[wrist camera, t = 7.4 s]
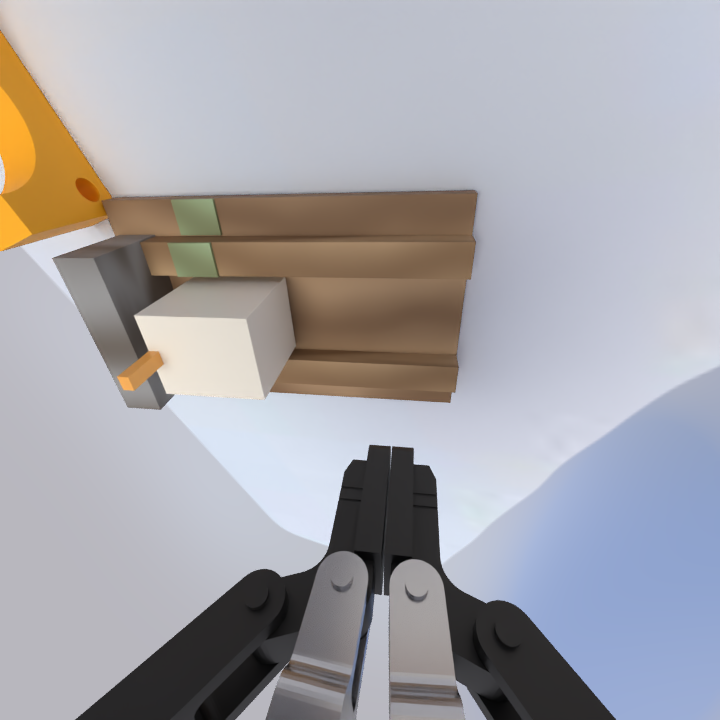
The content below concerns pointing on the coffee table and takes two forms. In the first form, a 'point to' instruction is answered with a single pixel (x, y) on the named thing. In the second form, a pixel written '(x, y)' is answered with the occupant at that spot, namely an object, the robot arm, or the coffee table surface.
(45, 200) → the pipe clamp
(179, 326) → the white cube with stick
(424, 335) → the gauge board
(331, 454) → the coffee table surface
